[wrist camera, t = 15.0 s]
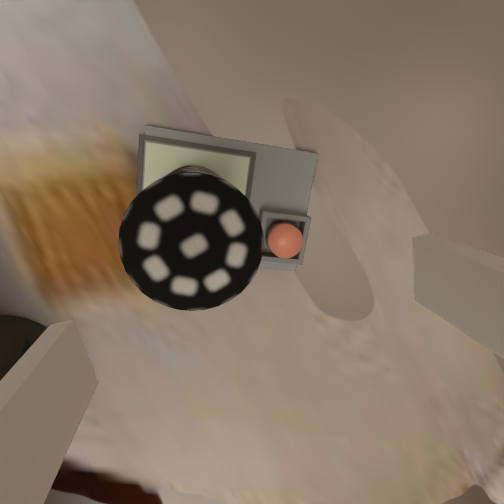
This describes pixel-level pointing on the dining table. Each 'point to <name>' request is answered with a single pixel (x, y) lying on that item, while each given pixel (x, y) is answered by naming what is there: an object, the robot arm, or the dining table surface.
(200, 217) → the white-spotted black cylinder
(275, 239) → the button
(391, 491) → the dining table surface
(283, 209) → the picture board
